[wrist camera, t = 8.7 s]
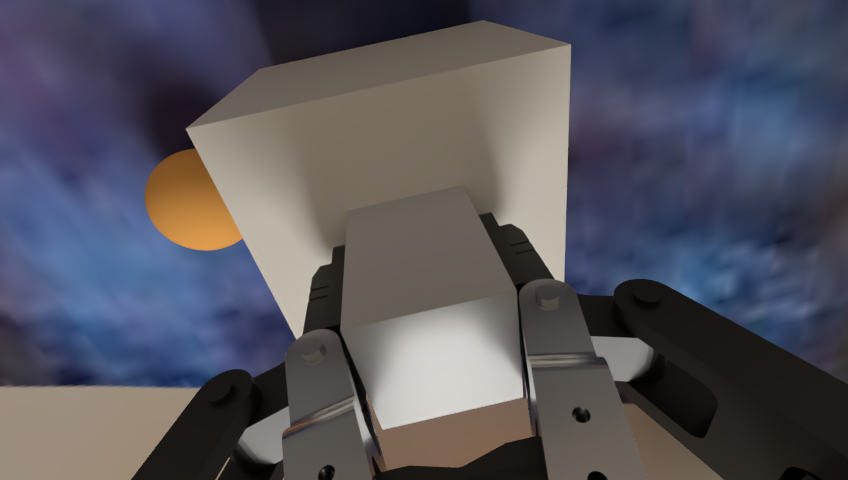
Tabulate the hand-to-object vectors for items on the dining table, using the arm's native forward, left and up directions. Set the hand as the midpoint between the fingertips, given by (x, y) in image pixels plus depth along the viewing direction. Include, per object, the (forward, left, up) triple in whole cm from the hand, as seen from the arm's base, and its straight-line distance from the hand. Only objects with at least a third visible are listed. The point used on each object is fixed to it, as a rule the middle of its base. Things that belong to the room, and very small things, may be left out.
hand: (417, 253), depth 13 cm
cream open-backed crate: (0, 0, -9) cm, 9 cm away
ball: (+10, 0, -8) cm, 13 cm away
